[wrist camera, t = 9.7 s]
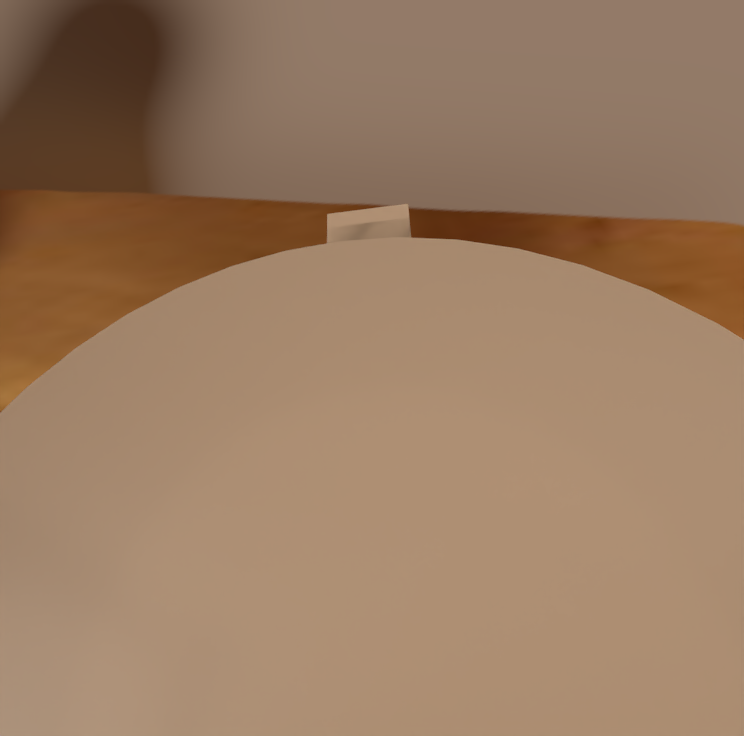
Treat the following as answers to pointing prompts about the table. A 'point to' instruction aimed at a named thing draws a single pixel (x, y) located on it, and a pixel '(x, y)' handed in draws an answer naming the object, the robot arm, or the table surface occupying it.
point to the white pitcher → (380, 505)
